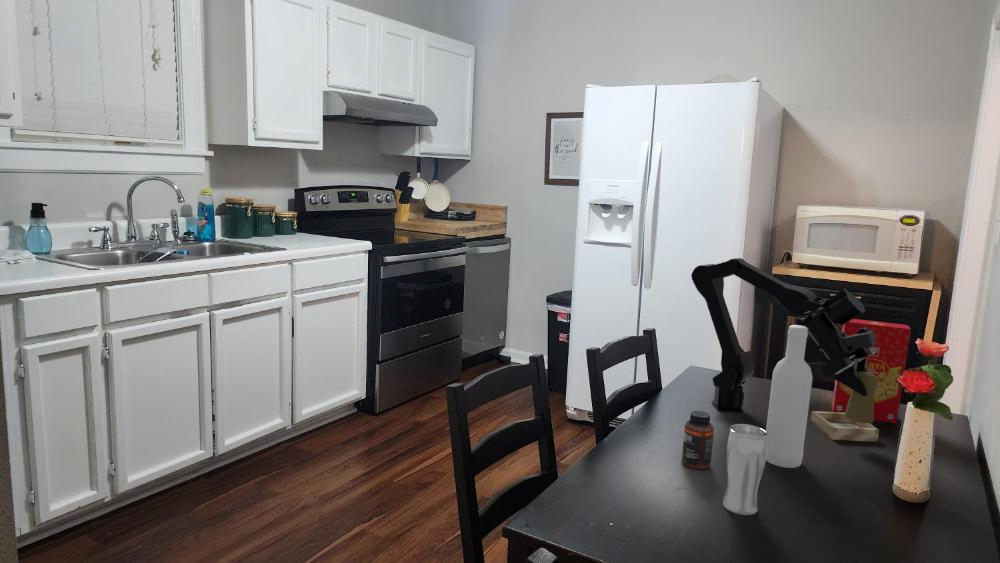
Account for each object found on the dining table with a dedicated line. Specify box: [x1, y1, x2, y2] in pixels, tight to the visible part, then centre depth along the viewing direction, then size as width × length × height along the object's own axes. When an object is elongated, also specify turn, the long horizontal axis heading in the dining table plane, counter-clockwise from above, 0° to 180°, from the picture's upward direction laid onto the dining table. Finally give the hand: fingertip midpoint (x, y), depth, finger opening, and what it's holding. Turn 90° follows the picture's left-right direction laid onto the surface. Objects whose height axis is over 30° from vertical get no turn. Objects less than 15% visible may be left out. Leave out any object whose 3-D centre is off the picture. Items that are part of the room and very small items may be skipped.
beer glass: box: [722, 423, 768, 516], centre depth 124 cm, size 7×7×15 cm
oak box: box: [810, 410, 880, 443], centre depth 165 cm, size 11×11×3 cm
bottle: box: [765, 324, 813, 469], centre depth 144 cm, size 8×8×30 cm
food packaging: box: [831, 318, 912, 424], centre depth 176 cm, size 15×5×25 cm, turn 67°
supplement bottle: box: [681, 410, 715, 470], centre depth 142 cm, size 6×6×11 cm
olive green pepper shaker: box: [844, 372, 878, 424], centre depth 156 cm, size 6×6×11 cm
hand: (869, 392), depth 155 cm, fingers closed on olive green pepper shaker, 5 cm apart
